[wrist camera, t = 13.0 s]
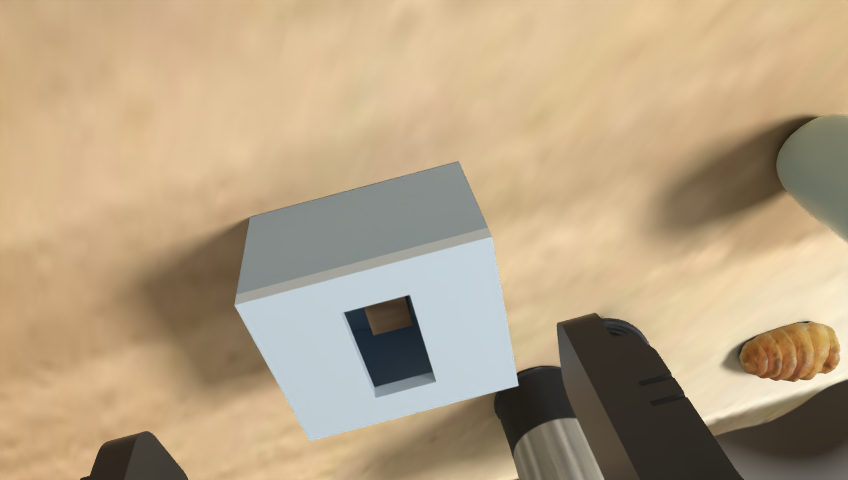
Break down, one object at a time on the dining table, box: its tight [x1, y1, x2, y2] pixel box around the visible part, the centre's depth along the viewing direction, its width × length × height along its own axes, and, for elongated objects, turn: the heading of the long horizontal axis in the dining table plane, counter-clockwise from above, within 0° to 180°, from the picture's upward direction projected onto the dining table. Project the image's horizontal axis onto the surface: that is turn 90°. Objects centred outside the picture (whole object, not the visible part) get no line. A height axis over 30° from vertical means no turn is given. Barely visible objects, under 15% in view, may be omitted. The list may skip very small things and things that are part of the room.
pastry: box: [739, 321, 840, 382], centre depth 60 cm, size 9×7×4 cm
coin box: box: [234, 162, 519, 441], centre depth 43 cm, size 16×14×10 cm
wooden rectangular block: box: [364, 296, 413, 335], centre depth 43 cm, size 3×6×6 cm
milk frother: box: [494, 318, 650, 480], centre depth 52 cm, size 14×16×15 cm
